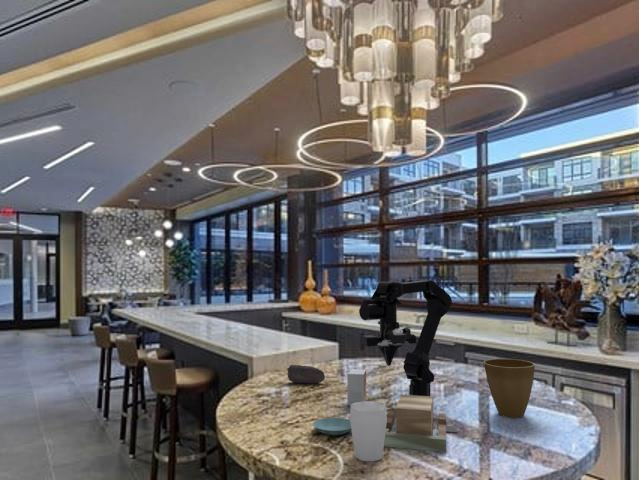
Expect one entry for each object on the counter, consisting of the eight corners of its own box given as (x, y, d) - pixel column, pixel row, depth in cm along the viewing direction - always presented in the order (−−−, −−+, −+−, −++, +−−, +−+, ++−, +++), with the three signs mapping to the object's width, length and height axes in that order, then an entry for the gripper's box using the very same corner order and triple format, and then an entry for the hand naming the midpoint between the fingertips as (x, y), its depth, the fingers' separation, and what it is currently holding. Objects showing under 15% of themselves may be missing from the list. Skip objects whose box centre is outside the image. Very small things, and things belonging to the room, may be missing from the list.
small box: (364, 406, 158) (364, 374, 158) (347, 405, 159) (347, 373, 159) (366, 400, 166) (366, 369, 166) (350, 399, 167) (350, 368, 167)
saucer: (314, 424, 140) (314, 416, 141) (354, 425, 140) (354, 417, 140) (312, 439, 129) (312, 430, 129) (355, 439, 128) (355, 430, 128)
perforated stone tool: (326, 382, 191) (326, 365, 192) (323, 385, 186) (323, 367, 187) (290, 380, 195) (290, 363, 195) (286, 383, 190) (286, 366, 190)
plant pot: (533, 409, 153) (532, 359, 154) (538, 424, 139) (537, 368, 140) (485, 405, 158) (483, 356, 159) (485, 419, 144) (483, 365, 145)
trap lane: (379, 415, 148) (379, 405, 148) (456, 421, 142) (455, 410, 143) (366, 444, 124) (366, 433, 124) (458, 453, 118) (458, 440, 118)
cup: (347, 450, 120) (347, 401, 121) (382, 448, 121) (382, 400, 122) (353, 464, 111) (352, 412, 112) (391, 463, 112) (390, 411, 113)
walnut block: (401, 425, 139) (401, 394, 139) (433, 428, 136) (432, 396, 137) (396, 442, 125) (395, 408, 126) (431, 446, 123) (430, 410, 123)
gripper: (374, 322, 151) (374, 372, 150) (425, 320, 157) (425, 367, 156) (359, 319, 161) (359, 365, 160) (407, 316, 168) (408, 361, 167)
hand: (388, 365), depth 160 cm, fingers closed
